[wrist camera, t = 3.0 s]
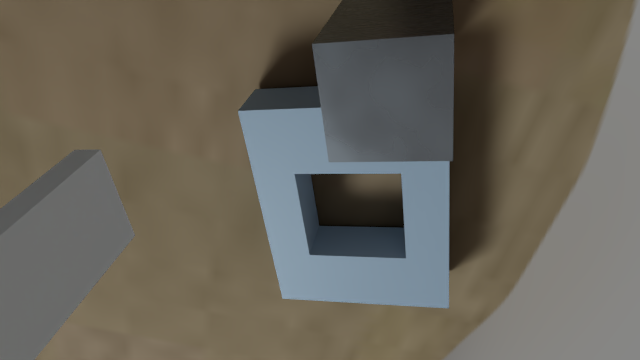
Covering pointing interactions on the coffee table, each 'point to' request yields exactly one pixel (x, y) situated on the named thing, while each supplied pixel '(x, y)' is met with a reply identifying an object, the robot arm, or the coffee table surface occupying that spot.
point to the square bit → (387, 80)
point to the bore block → (342, 241)
